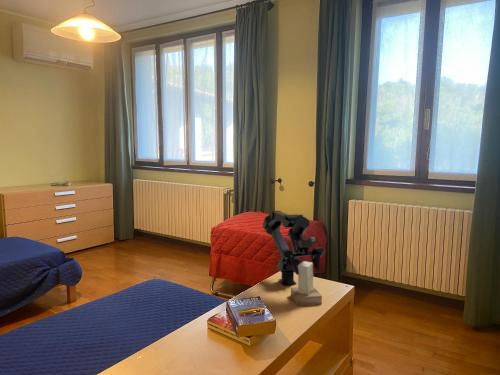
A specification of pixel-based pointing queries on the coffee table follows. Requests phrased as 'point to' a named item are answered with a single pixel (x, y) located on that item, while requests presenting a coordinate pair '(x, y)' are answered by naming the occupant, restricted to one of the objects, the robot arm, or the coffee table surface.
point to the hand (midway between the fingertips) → (308, 273)
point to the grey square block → (306, 297)
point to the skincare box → (305, 277)
